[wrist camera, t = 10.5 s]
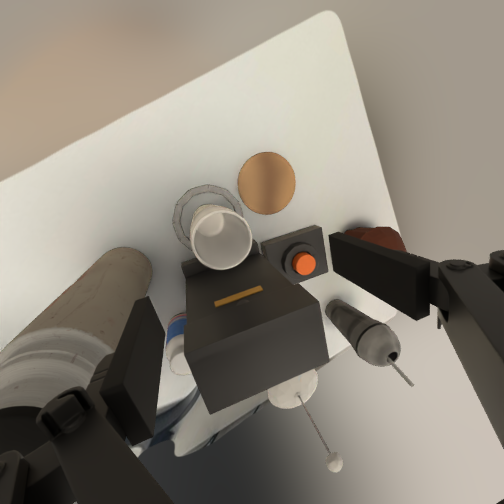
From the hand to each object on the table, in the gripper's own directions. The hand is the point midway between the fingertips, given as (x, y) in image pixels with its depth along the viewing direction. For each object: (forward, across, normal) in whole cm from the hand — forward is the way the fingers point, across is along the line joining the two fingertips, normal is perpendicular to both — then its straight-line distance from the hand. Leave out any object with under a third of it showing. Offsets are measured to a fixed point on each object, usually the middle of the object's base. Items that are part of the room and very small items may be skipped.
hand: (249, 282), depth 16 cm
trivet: (+26, +11, +3) cm, 29 cm away
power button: (+23, +13, -11) cm, 28 cm away
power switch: (+26, +13, -11) cm, 31 cm away
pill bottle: (+27, -10, -17) cm, 33 cm away
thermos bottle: (+27, -15, -4) cm, 31 cm away
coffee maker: (+26, 0, -5) cm, 27 cm away
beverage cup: (+27, +20, -26) cm, 42 cm away
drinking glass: (+27, 0, 0) cm, 27 cm away
